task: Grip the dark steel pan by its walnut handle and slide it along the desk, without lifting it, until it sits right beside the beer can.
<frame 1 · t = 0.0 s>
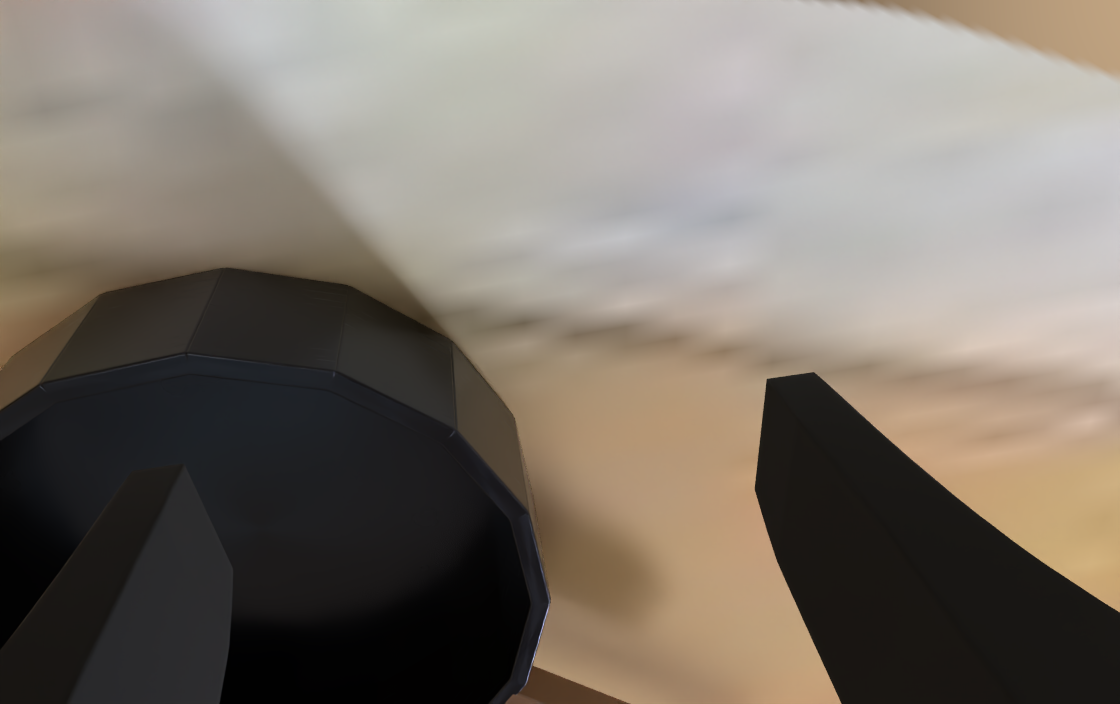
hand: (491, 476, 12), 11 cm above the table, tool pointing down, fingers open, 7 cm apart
pan: (265, 513, 24), on the table
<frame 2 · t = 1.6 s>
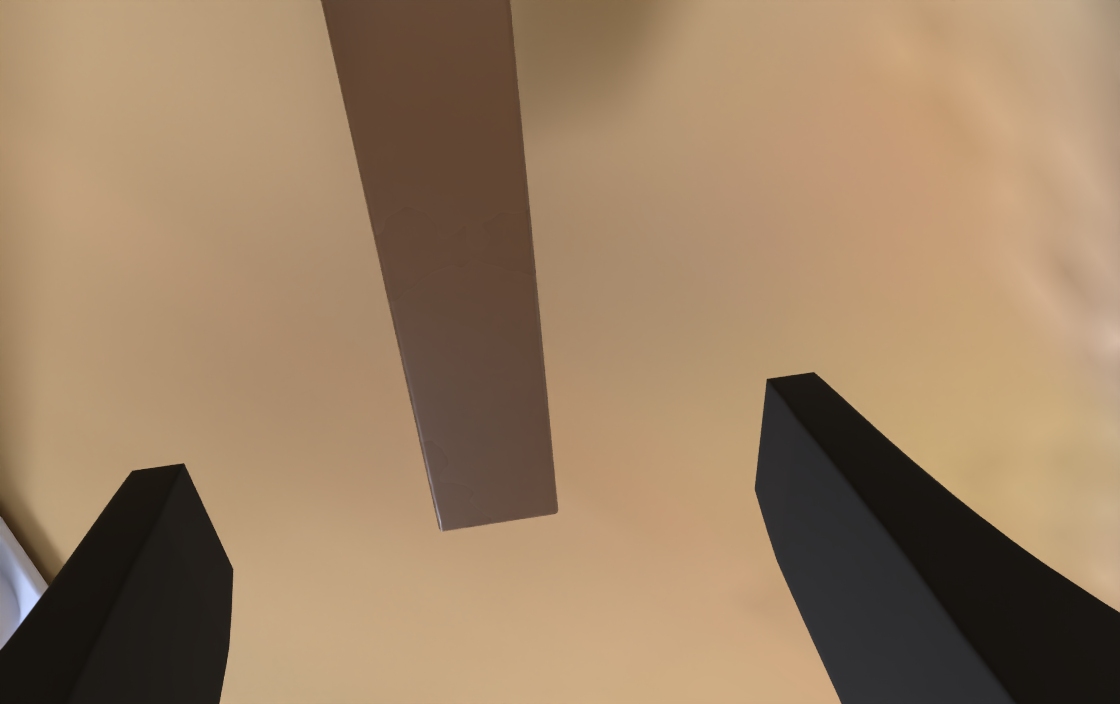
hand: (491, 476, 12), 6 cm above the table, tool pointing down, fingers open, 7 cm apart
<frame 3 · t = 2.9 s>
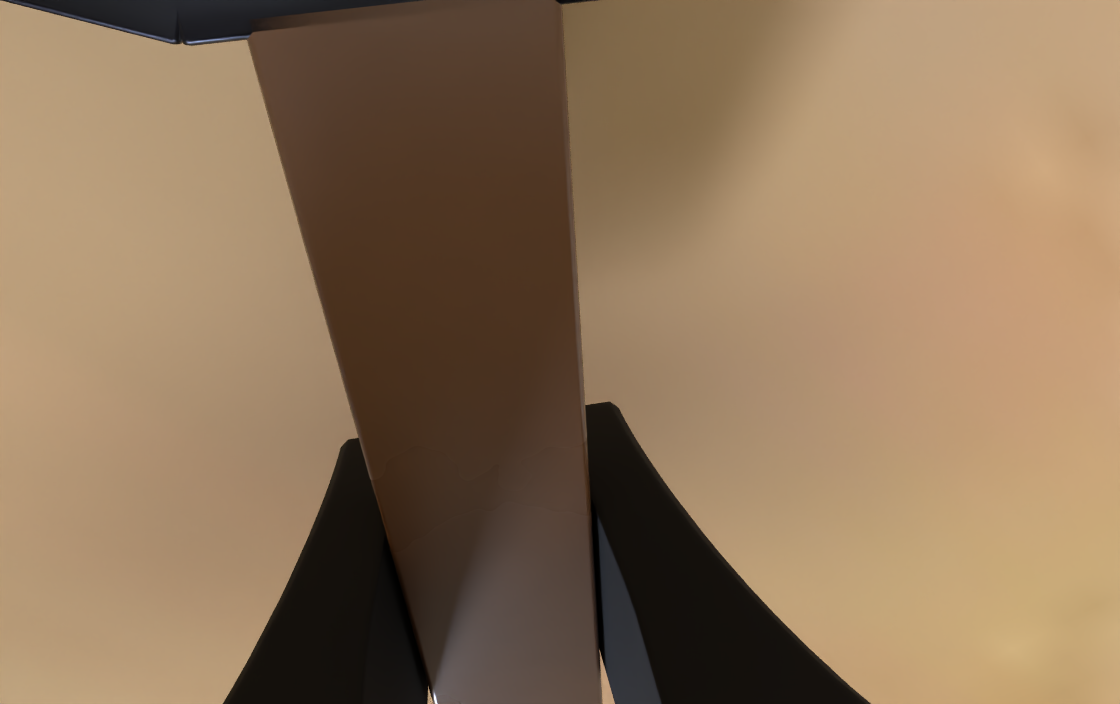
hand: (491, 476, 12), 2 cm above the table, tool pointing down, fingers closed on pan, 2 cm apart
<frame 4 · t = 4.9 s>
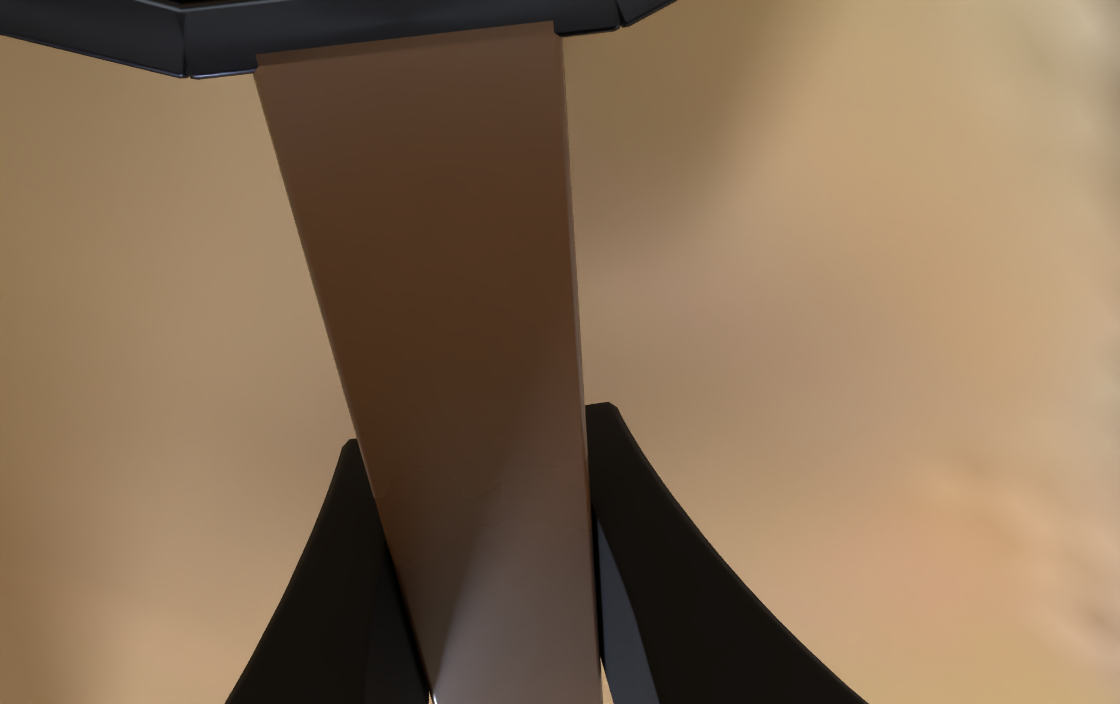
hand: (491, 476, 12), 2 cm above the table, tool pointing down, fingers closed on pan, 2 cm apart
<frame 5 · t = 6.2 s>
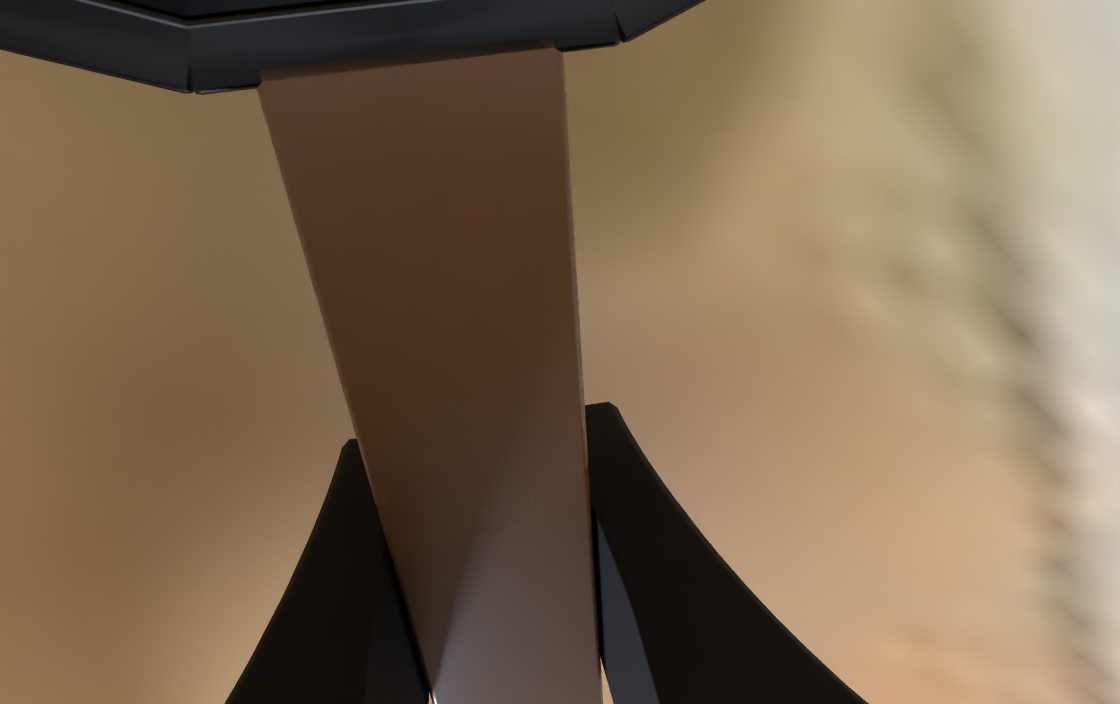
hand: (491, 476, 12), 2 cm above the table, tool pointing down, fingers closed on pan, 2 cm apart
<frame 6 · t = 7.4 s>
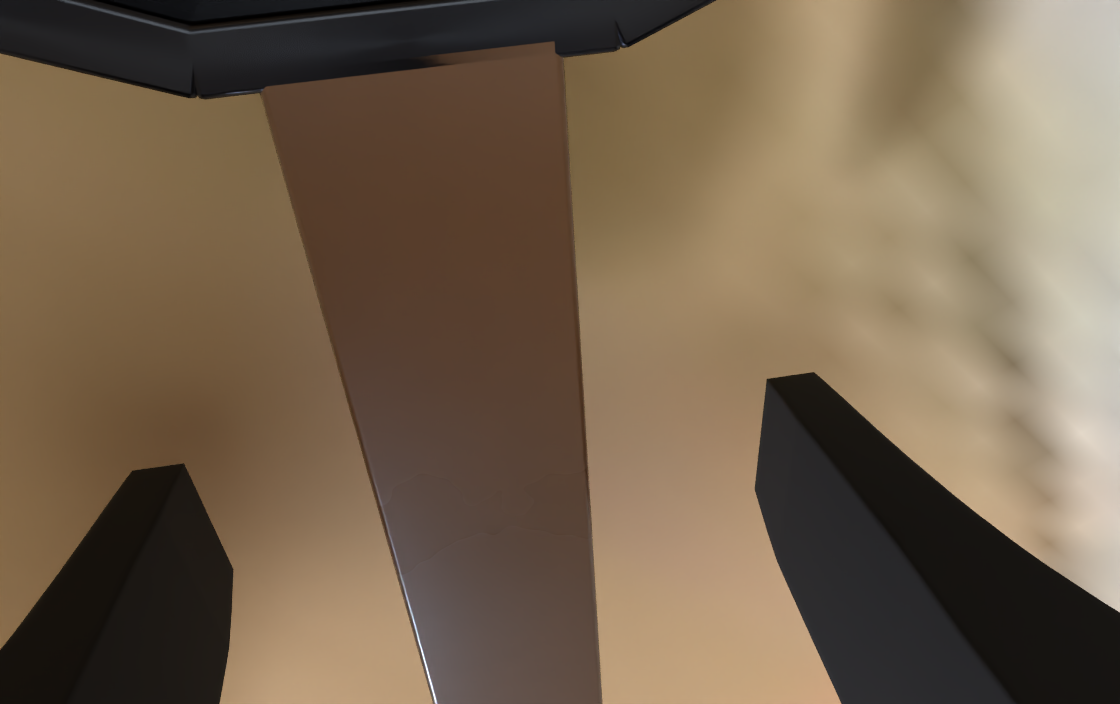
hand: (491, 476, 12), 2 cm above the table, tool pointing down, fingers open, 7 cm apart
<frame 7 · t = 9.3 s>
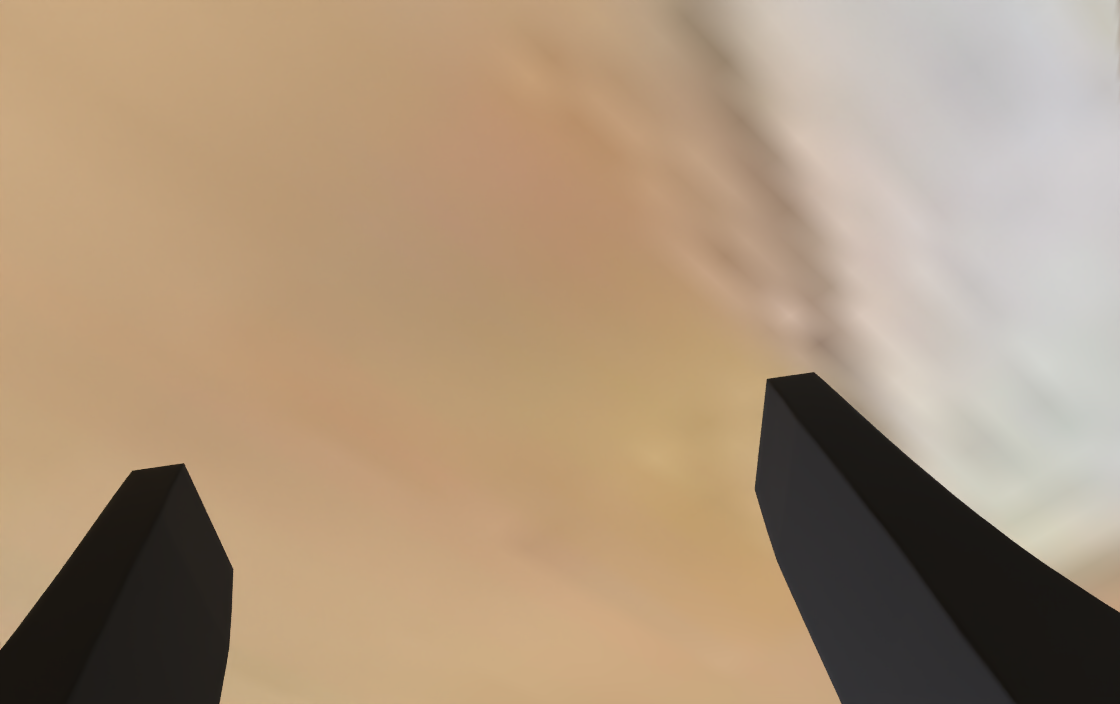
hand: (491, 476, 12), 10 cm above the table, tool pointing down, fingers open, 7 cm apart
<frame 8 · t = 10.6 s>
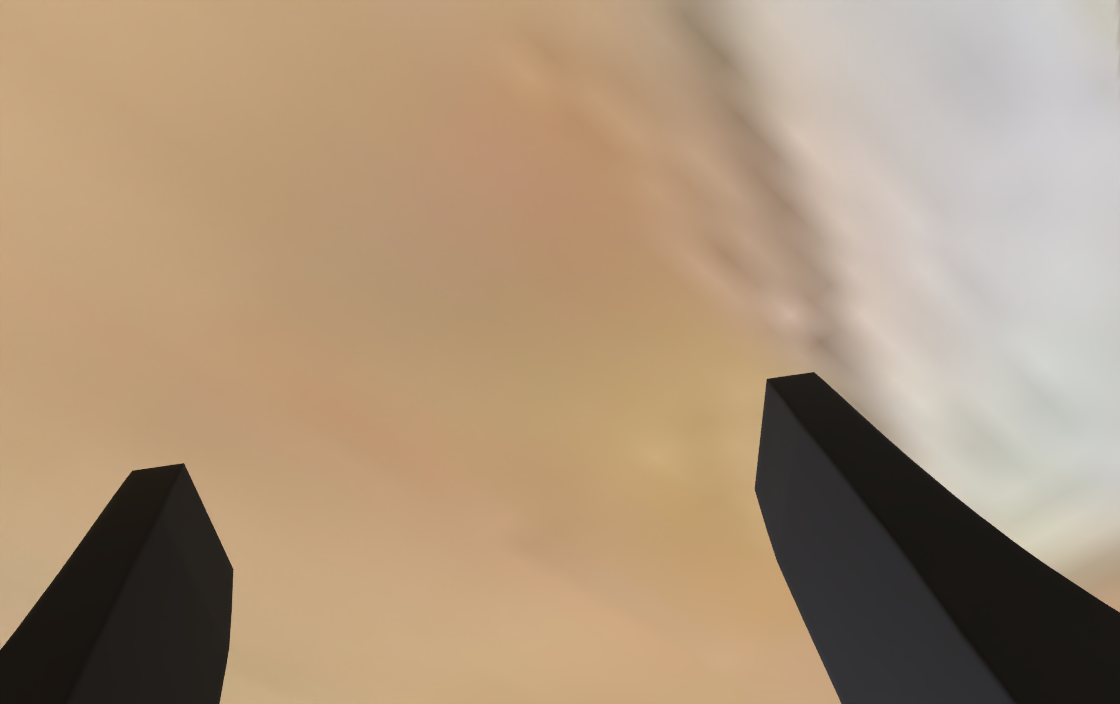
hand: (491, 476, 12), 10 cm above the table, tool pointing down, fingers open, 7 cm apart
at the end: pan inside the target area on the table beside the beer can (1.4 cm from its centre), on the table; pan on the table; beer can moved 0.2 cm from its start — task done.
